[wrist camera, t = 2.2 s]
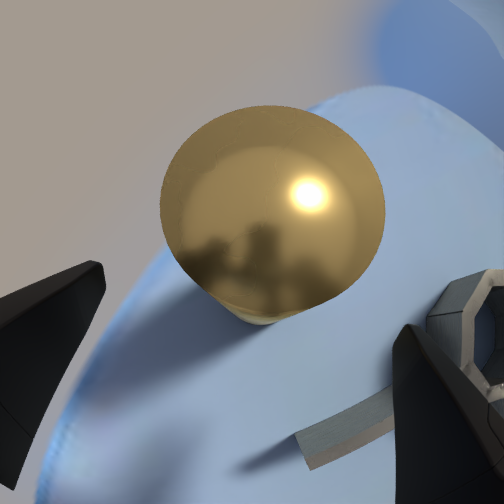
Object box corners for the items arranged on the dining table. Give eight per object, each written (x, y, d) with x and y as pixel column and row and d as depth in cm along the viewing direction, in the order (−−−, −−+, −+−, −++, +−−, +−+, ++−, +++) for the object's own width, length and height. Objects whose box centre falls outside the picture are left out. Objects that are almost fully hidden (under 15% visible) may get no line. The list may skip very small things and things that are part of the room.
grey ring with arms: (427, 540, 12) (448, 561, 8) (290, 436, 15) (300, 462, 12) (545, 389, 15) (574, 390, 11) (457, 248, 18) (491, 231, 14)
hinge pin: (258, 340, 17) (269, 365, 5) (207, 284, 18) (120, 190, 6) (313, 289, 18) (421, 204, 6) (262, 236, 19) (276, 79, 6)
